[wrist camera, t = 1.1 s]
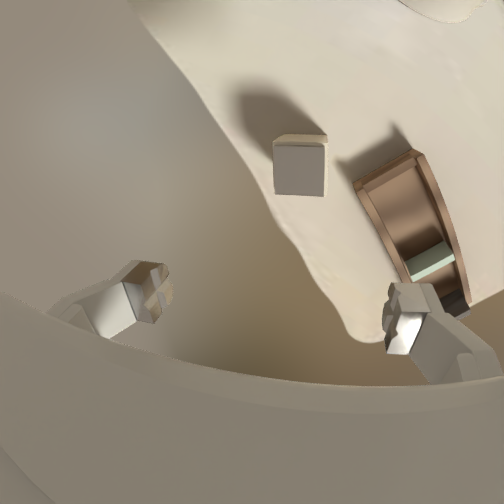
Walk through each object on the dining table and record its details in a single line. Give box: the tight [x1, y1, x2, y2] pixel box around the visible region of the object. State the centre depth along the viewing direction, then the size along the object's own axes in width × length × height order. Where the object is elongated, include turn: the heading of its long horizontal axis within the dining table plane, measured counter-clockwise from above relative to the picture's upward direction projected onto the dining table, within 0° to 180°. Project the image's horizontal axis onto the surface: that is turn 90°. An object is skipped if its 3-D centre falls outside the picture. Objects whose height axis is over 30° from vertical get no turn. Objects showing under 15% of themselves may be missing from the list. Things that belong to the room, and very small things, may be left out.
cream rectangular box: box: [272, 134, 328, 197], centre depth 26 cm, size 5×5×9 cm
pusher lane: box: [353, 149, 472, 320], centre depth 29 cm, size 23×9×6 cm, turn 38°
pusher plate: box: [405, 241, 455, 282], centre depth 29 cm, size 1×6×4 cm, turn 129°
